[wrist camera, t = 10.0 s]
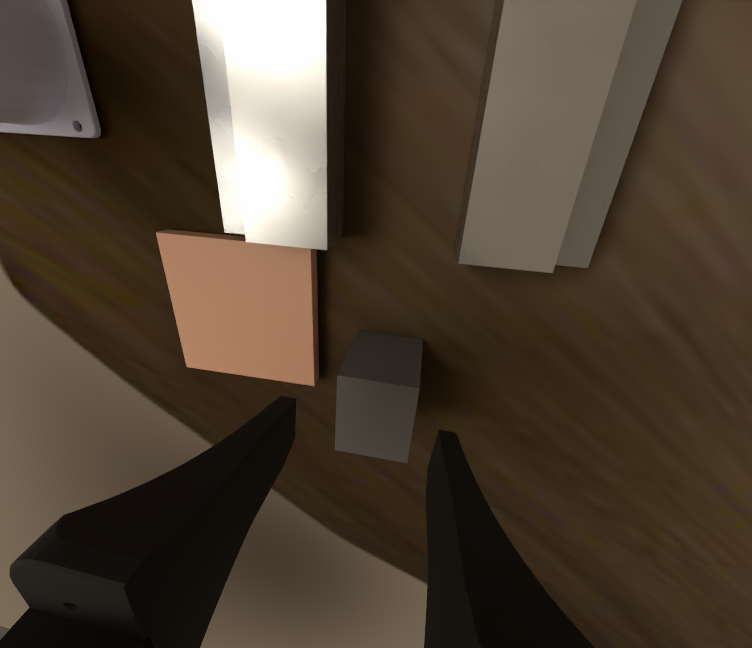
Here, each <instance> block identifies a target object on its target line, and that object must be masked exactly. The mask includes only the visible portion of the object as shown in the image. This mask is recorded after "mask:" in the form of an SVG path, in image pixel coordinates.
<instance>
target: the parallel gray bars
mask: <svg viewBox="0 0 752 648" xmlns="http://www.w3.org/2000/svg"><path fill="white" fill-rule="evenodd" d="M192 3H193V10H194V17H195V24H196V32H197V39H198V46H199V53H200V60H201V67H202V74H203V82H204V89H205V96H206V103H207V110H208V117H209V125H210V132H211V139H212V146H213V153H214V160H215V168H216V175H217V182H218V189H219V196H220V203H221V211H222V218H223V225H224V232H225V233H236V234H245V238H246V242H250V243H260V244H270V245H280V246H290V247H300V248H310V249H319V250H328V249H329V248H331V247H332V246H333V245H334V244H335V243H337V242H338V241H339V240H340V239H342V238H343V205H344V143H345V82H346V20H347V0H192ZM681 3H682V0H496V2H495V8H494V14H493V20H492V26H491V32H490V38H489V44H488V50H487V56H486V63H485V69H484V75H483V81H482V87H481V93H480V99H479V105H478V111H477V117H476V123H475V129H474V135H473V141H472V147H471V153H470V159H469V165H468V171H467V177H466V183H465V189H464V195H463V201H462V207H461V213H460V219H459V225H458V231H457V237H456V243H455V252H456V256H457V260H458V264H468V265H478V266H488V267H497V268H507V269H517V270H527V271H537V272H547V273H553V270H554V267H555V265H561V266H571V267H581V268H588V266H589V263H590V260H591V257H592V254H593V252H594V249H595V246H596V243H597V240H598V237H599V235H600V232H601V229H602V226H603V223H604V221H605V218H606V215H607V212H608V209H609V206H610V204H611V201H612V198H613V195H614V192H615V190H616V187H617V184H618V181H619V178H620V175H621V173H622V170H623V167H624V164H625V161H626V158H627V156H628V153H629V150H630V147H631V144H632V142H633V139H634V136H635V133H636V130H637V127H638V125H639V122H640V119H641V116H642V113H643V111H644V108H645V105H646V102H647V99H648V96H649V94H650V91H651V88H652V85H653V82H654V79H655V77H656V74H657V71H658V68H659V65H660V63H661V60H662V57H663V54H664V51H665V48H666V46H667V43H668V40H669V37H670V34H671V32H672V29H673V26H674V23H675V20H676V17H677V15H678V12H679V9H680V6H681Z"/></svg>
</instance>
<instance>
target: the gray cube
mask: <svg viewBox="0 0 752 648" xmlns="http://www.w3.org/2000/svg"><path fill="white" fill-rule="evenodd" d="M422 348H423V339H419V338H412V337H405V336H398V335H391V334H384V333H377V332H370V331H364V330H358V331H357V333H356V336H355V338H354V340H353V342H352V344H351V346H350V349H349V351H348V353H347V355H346V357H345V359H344V362H343V364H342V366H341V368H340V370H339V372H338V375H337V397H336V428H335V450H338V451H343V452H349V453H354V454H360V455H365V456H370V457H376V458H381V459H386V460H392V461H397V462H403V463H407V460H408V454H409V449H410V443H411V437H412V431H413V425H414V419H415V413H416V408H417V402H418V396H419V390H420V377H421V362H422Z"/></svg>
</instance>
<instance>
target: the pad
mask: <svg viewBox="0 0 752 648" xmlns="http://www.w3.org/2000/svg"><path fill="white" fill-rule="evenodd" d="M156 235H157V240H158V244H159V248H160V253H161V257H162V261H163V266H164V270H165V275H166V279H167V283H168V288H169V292H170V296H171V301H172V305H173V309H174V314H175V318H176V322H177V327H178V331H179V335H180V340H181V344H182V348H183V353H184V357H185V362H186V366H187V367H191V368H198V369H204V370H211V371H218V372H224V373H231V374H238V375H244V376H251V377H258V378H264V379H271V380H278V381H284V382H291V383H298V384H304V385H311V386H315V384H316V382H317V380H318V378H319V348H318V295H317V249H310V248H300V247H290V246H280V245H270V244H260V243H250V242H246V238H245V237H241V236H231V235H221V234H211V233H201V232H191V231H181V230H171V229H168V230H164V231H160V232H156Z"/></svg>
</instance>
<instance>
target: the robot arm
mask: <svg viewBox="0 0 752 648" xmlns="http://www.w3.org/2000/svg"><path fill="white" fill-rule="evenodd" d="M80 124H81V126H82V130H81V128H80ZM0 132H7V133H22V134H37V135H52V136H67V137H82V138H98V137H99V136H100V134H101V128H100V124H99V120H98V116H97V113H96V109H95V105H94V101H93V98H92V94H91V90H90V86H89V83H88V79H87V75H86V71H85V68H84V64H83V60H82V56H81V53H80V49H79V45H78V41H77V38H76V34H75V30H74V26H73V23H72V19H71V15H70V11H69V7H68V4H67V0H0ZM295 417H296V399H293V398H289V397H284V396H280V397H278V398H277V399H276V400H275V401H273V402H272V403H271V404H270V405H268V406H267V407H266V408H265V409H263V410H262V411H261V412H260V413H258V414H257V415H256V416H255V417H253V418H252V419H251V420H249V421H248V422H247V423H245V424H244V425H243V426H241V427H240V428H239V429H237V430H236V431H235V432H233V433H232V434H230V435H229V436H227V437H226V438H224V439H223V440H221V441H220V442H218V443H217V444H216V445H214V446H212V447H211V448H209V449H208V450H206V451H205V452H203V453H201V454H200V455H198V456H196V457H195V458H193V459H191V460H189V461H188V462H186V463H184V464H183V465H180V466H178V467H177V468H175V469H173V470H171V471H169V472H167V473H165V474H163V475H161V476H159V477H157V478H155V479H153V480H151V481H149V482H147V483H144V484H142V485H140V486H138V487H135V488H133V489H131V490H128V491H126V492H124V493H121V494H119V495H117V496H114V497H112V498H109V499H107V500H104V501H101V502H99V503H96V504H93V505H91V506H88V507H85V508H83V509H80V510H77V511H74V512H72V513H68V514H65V515H63V516H62V517H61V518H60V519H59V520H58V521H57V522H55V523H54V524H53V525H52V526H51V527H50V528H49V529H48V530H47V531H46V532H44V533H43V534H42V535H41V537H39V538H38V539H37V540H36V541H35V542H34V543H33V544H32V545H31V546H30V547H29V548H28V549H27V550H26V551H25V552H24V553H23V554H21V556H19V557H18V558H17V559H16V560H15V561H14V562H13V563H12V565H11V566H10V578H11V580H12V582H13V584H14V585H15V587H16V588H17V589H18V591H19V592H20V594H21V595H22V597H23V598H24V600H25V601H26V603H27V604H28V606H29V607H30V608H29V609H28V610H27V611H26V612H25V613H24V614H23V615H22V616H21V618H20V619H19V620H18V621H17V622H16V623H15V624H14V625H13V626H12V628H11V629H8V628H4V627H1V626H0V648H200V646H201V644H202V641H203V638H204V636H205V633H206V630H207V628H208V625H209V623H210V620H211V618H212V615H213V613H214V610H215V608H216V605H217V603H218V600H219V598H220V596H221V593H222V591H223V588H224V586H225V583H226V581H227V579H228V576H229V574H230V572H231V569H232V567H233V564H234V562H235V560H236V557H237V555H238V553H239V551H240V548H241V546H242V544H243V541H244V539H245V537H246V535H247V532H248V530H249V528H250V526H251V524H252V522H253V520H254V518H255V516H256V514H257V513H258V511H259V509H260V507H261V505H262V504H263V502H264V500H265V498H266V496H267V495H268V493H269V491H270V489H271V487H272V485H273V484H274V482H275V480H276V478H277V476H278V475H279V473H280V471H281V469H282V467H283V465H284V463H285V461H286V459H287V456H288V454H289V452H290V449H291V447H292V444H293V442H294V439H295ZM426 515H427V543H428V589H427V608H426V626H425V644H424V648H594V647H593V645H592V644H591V643H590V642H589V641H588V640H587V639H586V638H585V636H584V635H583V634H582V633H581V632H580V631H579V630H578V629H577V627H576V626H575V625H574V624H573V623H572V622H571V621H570V620H569V618H568V617H567V616H566V615H565V614H564V613H563V612H562V610H561V609H560V608H559V607H558V605H557V604H556V603H555V602H554V601H553V599H552V598H551V597H550V596H549V594H548V593H547V592H546V591H545V589H544V588H543V587H542V585H541V584H540V583H539V581H538V580H537V578H536V577H535V576H534V574H533V573H532V572H531V570H530V569H529V568H528V566H527V565H526V564H525V562H524V561H523V560H522V558H521V557H520V555H519V554H518V552H517V551H516V549H515V548H514V546H513V545H512V543H511V542H510V540H509V539H508V537H507V536H506V534H505V532H504V531H503V529H502V528H501V526H500V524H499V523H498V521H497V519H496V518H495V516H494V514H493V512H492V511H491V509H490V507H489V505H488V503H487V501H486V499H485V498H484V496H483V494H482V492H481V490H480V488H479V486H478V484H477V482H476V479H475V477H474V475H473V473H472V471H471V469H470V467H469V464H468V462H467V460H466V457H465V455H464V452H463V450H462V447H461V445H460V442H459V439H458V436H457V435H456V433H453V432H448V431H443V430H439V431H438V434H437V438H436V441H435V445H434V448H433V452H432V455H431V458H430V462H429V465H428V472H427V486H426Z"/></svg>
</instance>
